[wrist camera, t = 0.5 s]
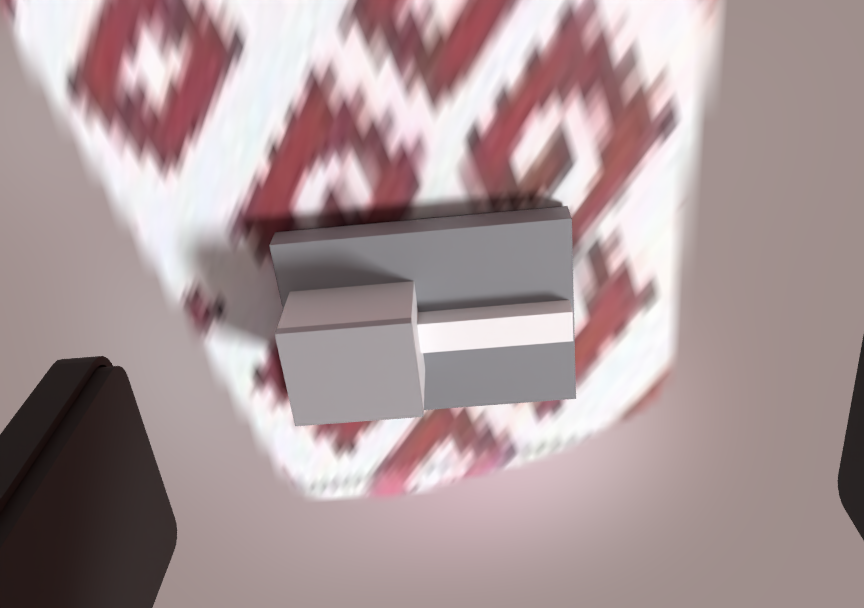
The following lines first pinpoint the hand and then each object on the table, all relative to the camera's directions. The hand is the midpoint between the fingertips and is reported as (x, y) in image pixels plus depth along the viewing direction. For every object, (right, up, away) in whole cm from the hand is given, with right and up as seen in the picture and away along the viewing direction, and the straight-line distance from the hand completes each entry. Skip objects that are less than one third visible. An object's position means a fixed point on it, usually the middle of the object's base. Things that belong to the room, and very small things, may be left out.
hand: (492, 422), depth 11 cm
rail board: (-1, +1, +31) cm, 31 cm away
